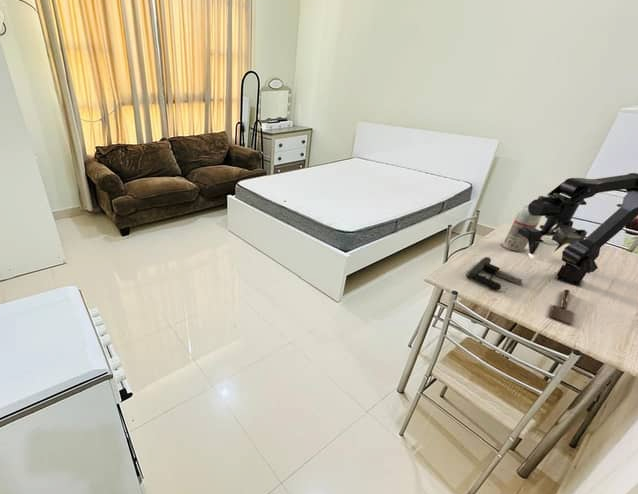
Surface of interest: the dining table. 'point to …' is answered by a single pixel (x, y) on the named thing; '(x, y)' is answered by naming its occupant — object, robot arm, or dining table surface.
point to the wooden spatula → (562, 310)
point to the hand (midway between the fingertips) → (539, 254)
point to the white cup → (544, 249)
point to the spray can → (522, 219)
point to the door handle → (490, 269)
